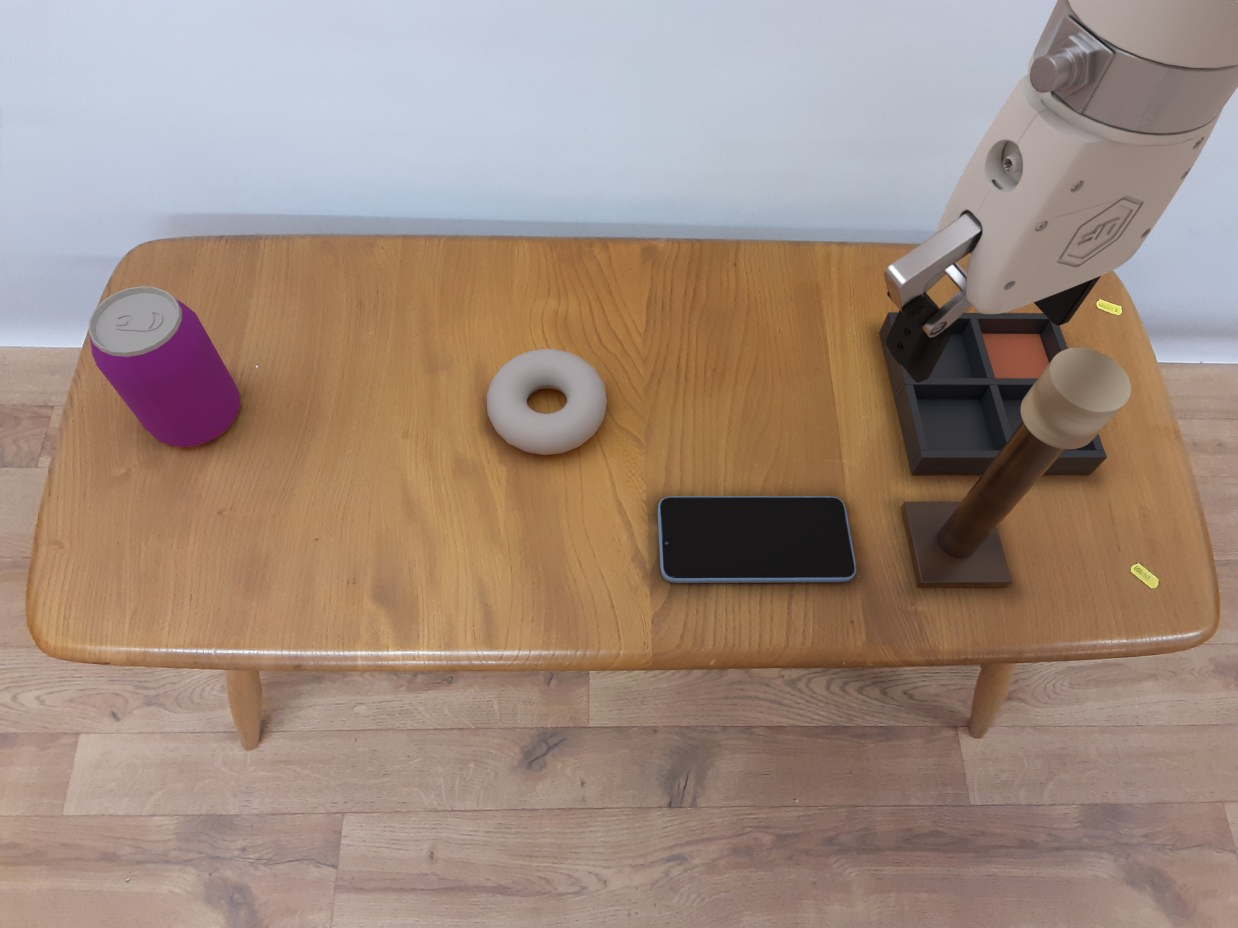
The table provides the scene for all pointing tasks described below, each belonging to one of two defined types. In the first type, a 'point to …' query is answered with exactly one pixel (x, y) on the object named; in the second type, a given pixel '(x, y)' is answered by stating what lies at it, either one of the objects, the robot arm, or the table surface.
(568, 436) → the donut
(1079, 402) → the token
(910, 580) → the table surface
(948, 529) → the stand
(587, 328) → the table surface
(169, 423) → the beverage can
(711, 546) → the smartphone
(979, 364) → the grid
